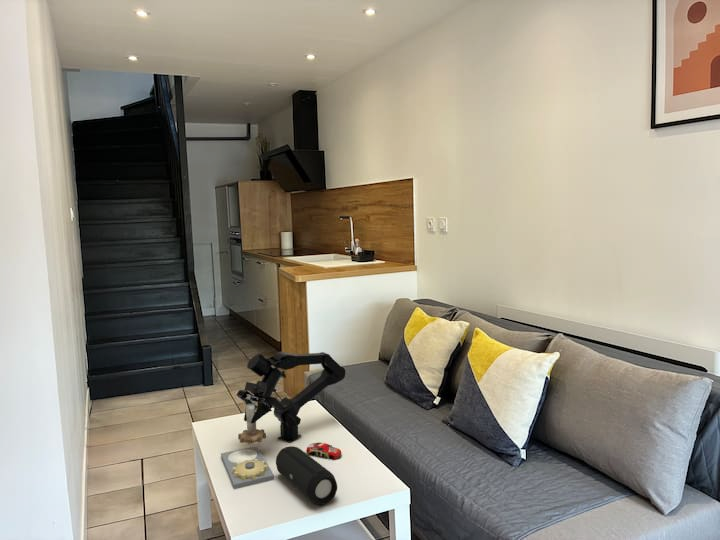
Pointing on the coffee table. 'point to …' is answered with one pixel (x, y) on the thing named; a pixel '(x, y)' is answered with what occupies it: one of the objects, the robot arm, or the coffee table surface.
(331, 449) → the race car
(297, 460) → the portable speaker
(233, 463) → the gear board
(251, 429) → the walnut gear
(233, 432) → the coffee table surface
